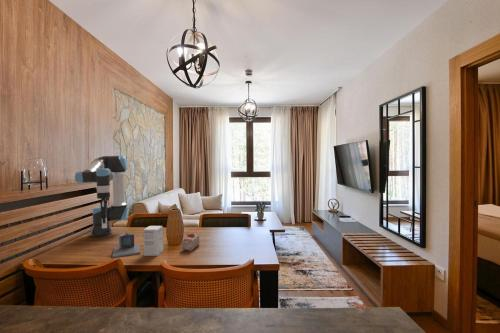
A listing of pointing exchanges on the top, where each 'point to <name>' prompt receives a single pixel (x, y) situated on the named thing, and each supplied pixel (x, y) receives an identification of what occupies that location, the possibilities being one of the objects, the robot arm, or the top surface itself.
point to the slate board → (126, 251)
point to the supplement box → (153, 240)
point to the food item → (190, 242)
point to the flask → (126, 241)
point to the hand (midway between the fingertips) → (104, 227)
